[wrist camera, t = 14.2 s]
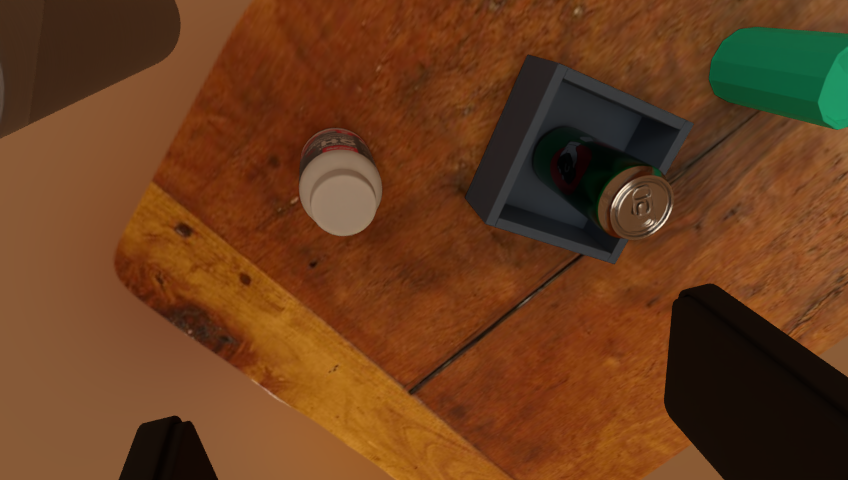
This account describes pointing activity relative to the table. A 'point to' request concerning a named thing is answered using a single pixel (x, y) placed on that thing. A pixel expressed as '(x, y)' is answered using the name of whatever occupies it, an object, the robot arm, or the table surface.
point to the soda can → (604, 183)
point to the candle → (785, 73)
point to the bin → (545, 112)
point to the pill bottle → (339, 182)
